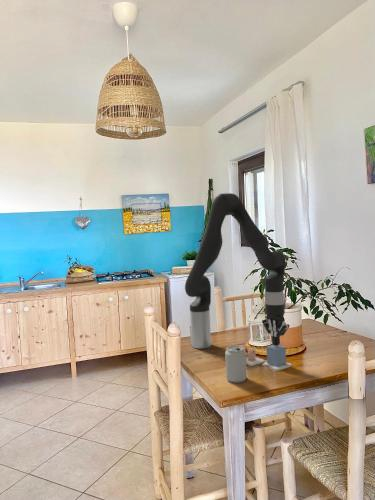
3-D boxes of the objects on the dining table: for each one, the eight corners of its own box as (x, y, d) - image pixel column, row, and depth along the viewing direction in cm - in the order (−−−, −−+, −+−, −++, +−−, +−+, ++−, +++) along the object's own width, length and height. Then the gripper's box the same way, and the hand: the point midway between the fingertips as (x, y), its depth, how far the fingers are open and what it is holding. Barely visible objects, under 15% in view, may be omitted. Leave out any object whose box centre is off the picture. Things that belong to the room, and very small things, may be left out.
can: (248, 382, 141) (247, 350, 140) (228, 384, 141) (226, 351, 140) (244, 374, 149) (242, 343, 148) (224, 376, 148) (223, 345, 147)
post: (262, 365, 157) (261, 348, 157) (276, 360, 162) (275, 344, 161) (277, 371, 150) (276, 353, 150) (291, 366, 155) (290, 348, 154)
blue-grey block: (267, 363, 157) (266, 346, 156) (276, 360, 160) (275, 343, 159) (277, 366, 152) (276, 349, 152) (286, 363, 155) (285, 346, 155)
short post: (239, 361, 163) (239, 350, 163) (252, 357, 167) (251, 346, 166) (251, 366, 157) (251, 354, 157) (264, 361, 161) (263, 350, 161)
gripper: (255, 301, 157) (257, 343, 159) (280, 306, 147) (282, 351, 148) (268, 298, 162) (270, 339, 163) (294, 303, 151) (295, 347, 152)
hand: (276, 345), depth 155 cm, fingers closed
